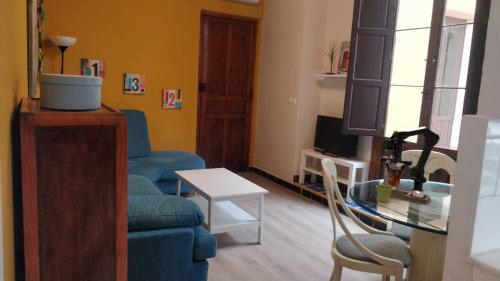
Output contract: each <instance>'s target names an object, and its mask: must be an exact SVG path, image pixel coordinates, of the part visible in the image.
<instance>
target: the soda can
mask: <svg viewBox="0 0 500 281" xmlns="http://www.w3.org/2000/svg"><path fill="white" fill-rule="evenodd" d="M401 168H402V167H400V166H397V165H396V166H392V167H390V171H389V179H388V183H389V185H388V186H390V187H392V188H394V187H395V188H397V187H399V185H400V183H401V182H400V181H401V176H402V175H400V173H401Z"/></svg>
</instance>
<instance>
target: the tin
mask: <svg viewBox="0 0 500 281" xmlns="http://www.w3.org/2000/svg"><path fill="white" fill-rule="evenodd" d="M412 193H413V194H412V197H416V198H421V199H424V195H425V192H424V191H413V190H412Z"/></svg>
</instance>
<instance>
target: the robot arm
mask: <svg viewBox="0 0 500 281" xmlns="http://www.w3.org/2000/svg"><path fill="white" fill-rule="evenodd" d="M419 135H422V136H423V137H424V146H423V149H422V151H421V153H420V156H419V158H418V160H417V163H416V165H414V166H413V161H412V160H411V159H410V160H409V159H405V160H403V156H402V155H403V147H404V145H406V144H407V142H406V141H405V140H407V139H409V138H410V137H415V136H419ZM440 139H441V138H440V135H439V133H436V132H434V131H432V130H430V128H428V127H426V126H421V127H417V128H412V129H407V130H401V129H400V130H399V129H397V130H394V131H393V132H392V135H391V136H390V137H389V138H388V139H386V138H385V139H383V141H382V143H381V149H382V150H383V151H392V152H391V155H390V157H389V156H381V157H380V159H379V160H380V162H381V163H383V164H386V166H387V169H388V173H389V171H390V163H395V164H402V165H401V167H400V168H401V173H400V175H401V176H402V175H403V173H404V171H405V169H406V168H407V167H411V166H412V167H411V168H410V171H409V176H410V178H411V180H412V181H413V186H412V189H411V191H412V192H413V191H422V192H424V189H423V186H424V184H426V183H427V181H428V180H427V177H426V176H425V167H426V164H427V161H428V159H429V157H430V155H431V153H432V150H433V148H434V147H435V146H437V144H438V143H439V141H440Z"/></svg>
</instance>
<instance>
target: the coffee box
mask: <svg viewBox="0 0 500 281" xmlns="http://www.w3.org/2000/svg"><path fill="white" fill-rule="evenodd" d="M384 164H385V163H384ZM397 164H398V163H397ZM397 164H395V163H390V167H392V166H396V167H397ZM388 179H389V173H388V169H387V166H386V164H385V165H384V174H383V183H384V185H386V186H389V183H388Z"/></svg>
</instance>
